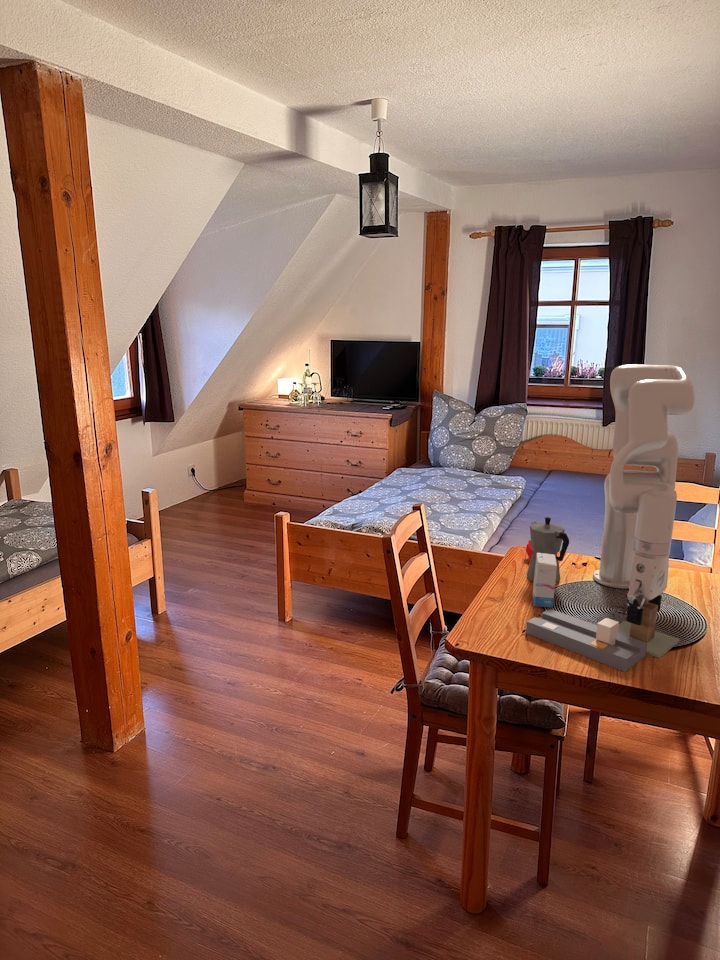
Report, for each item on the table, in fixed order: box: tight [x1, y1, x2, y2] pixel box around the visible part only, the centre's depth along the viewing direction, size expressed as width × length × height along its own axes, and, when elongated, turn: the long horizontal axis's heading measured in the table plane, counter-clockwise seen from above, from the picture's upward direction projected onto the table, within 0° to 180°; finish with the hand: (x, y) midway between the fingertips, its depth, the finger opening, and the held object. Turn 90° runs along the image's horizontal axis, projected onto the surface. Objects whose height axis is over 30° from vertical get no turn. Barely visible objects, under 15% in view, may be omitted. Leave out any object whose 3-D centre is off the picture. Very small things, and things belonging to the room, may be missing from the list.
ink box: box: [532, 553, 557, 609], centre depth 174 cm, size 9×5×12 cm, turn 168°
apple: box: [525, 539, 533, 561], centre depth 203 cm, size 7×7×8 cm
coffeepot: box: [526, 516, 570, 584], centre depth 187 cm, size 15×9×18 cm, turn 24°
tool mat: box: [618, 620, 681, 659], centre depth 155 cm, size 11×13×1 cm
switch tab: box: [596, 617, 620, 646], centre depth 148 cm, size 4×3×5 cm
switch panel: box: [525, 608, 647, 673], centre depth 152 cm, size 10×24×3 cm, turn 44°
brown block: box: [629, 599, 658, 643], centre depth 153 cm, size 4×4×12 cm
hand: (643, 616), depth 154 cm, fingers open, 9 cm apart
